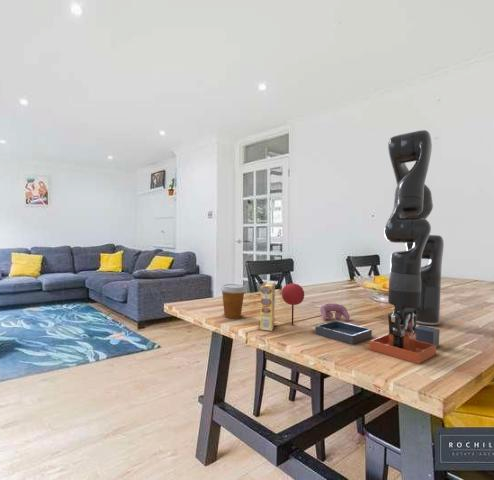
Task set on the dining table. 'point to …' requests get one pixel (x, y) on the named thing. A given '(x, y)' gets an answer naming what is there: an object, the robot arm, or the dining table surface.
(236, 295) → the disposable coffee cup
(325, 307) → the toy elephant
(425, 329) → the slate block
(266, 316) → the candy box
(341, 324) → the slate tray
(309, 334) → the dining table surface
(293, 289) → the lollipop
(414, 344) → the terracotta block
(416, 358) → the terracotta tray
